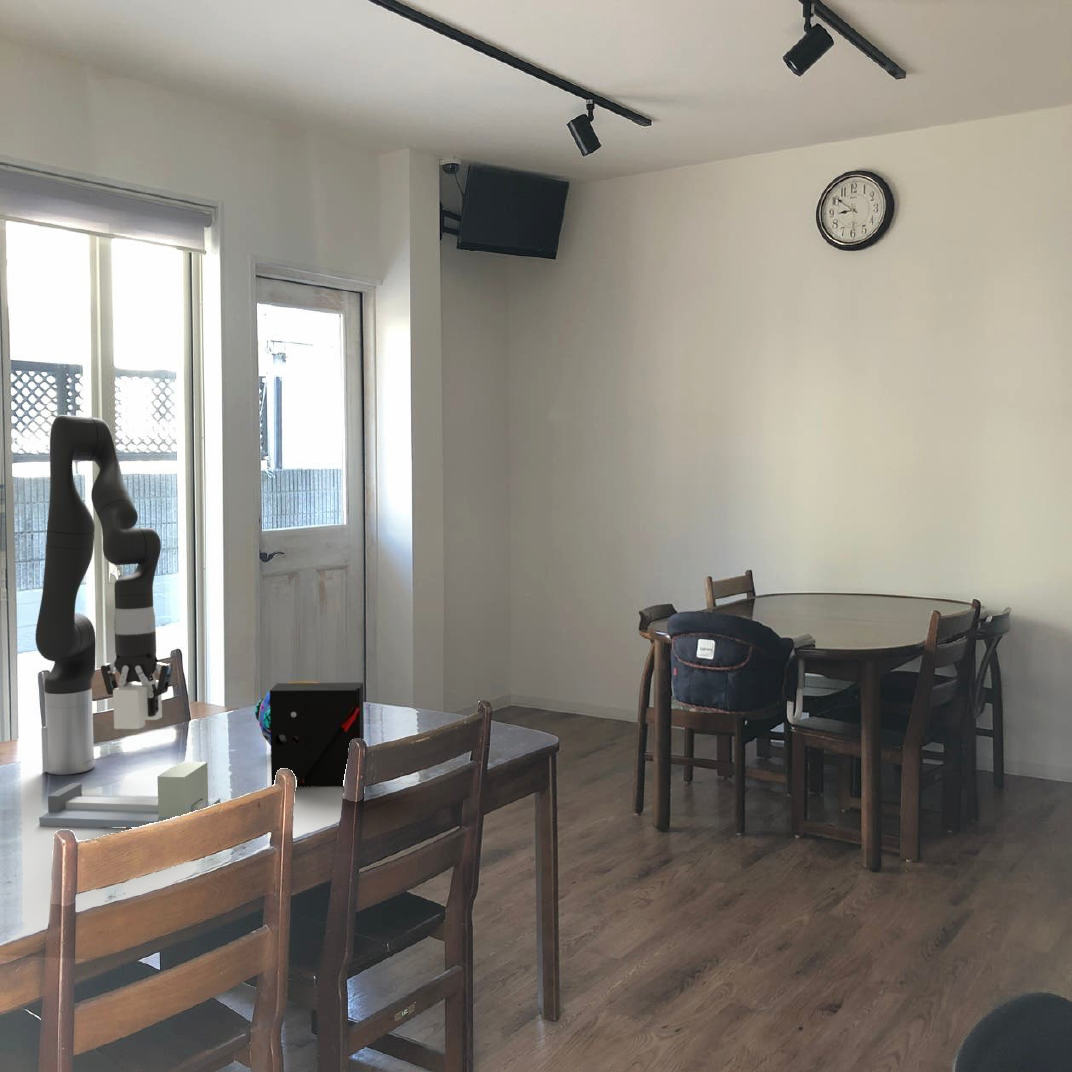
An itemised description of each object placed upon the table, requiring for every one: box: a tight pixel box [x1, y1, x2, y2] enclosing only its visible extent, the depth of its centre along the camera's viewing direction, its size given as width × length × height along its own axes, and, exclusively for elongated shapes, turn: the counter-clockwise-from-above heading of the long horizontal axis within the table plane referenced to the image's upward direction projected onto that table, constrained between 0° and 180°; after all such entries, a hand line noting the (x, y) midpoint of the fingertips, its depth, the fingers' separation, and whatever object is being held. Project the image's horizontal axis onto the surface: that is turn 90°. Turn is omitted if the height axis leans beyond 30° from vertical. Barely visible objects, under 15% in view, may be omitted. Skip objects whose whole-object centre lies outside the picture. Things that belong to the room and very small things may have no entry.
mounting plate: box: [38, 760, 221, 829], centre depth 197 cm, size 28×14×9 cm, turn 84°
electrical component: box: [269, 681, 365, 789], centre depth 218 cm, size 18×10×20 cm, turn 92°
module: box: [112, 679, 163, 730], centre depth 210 cm, size 5×10×8 cm, turn 175°
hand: (138, 715), depth 210 cm, fingers closed on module, 5 cm apart
